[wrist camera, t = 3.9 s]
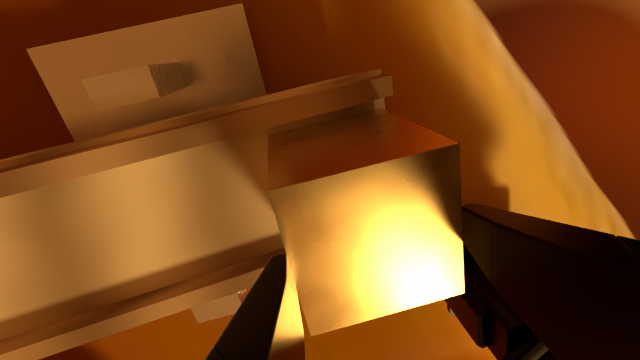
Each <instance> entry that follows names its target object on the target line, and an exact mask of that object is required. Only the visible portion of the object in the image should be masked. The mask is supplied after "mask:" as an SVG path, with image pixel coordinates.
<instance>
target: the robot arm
mask: <svg viewBox="0 0 640 360" xmlns="http://www.w3.org/2000/svg"><path fill="white" fill-rule="evenodd" d="M462 235H463V262H464V290H465V293H463V294H459V295H456V296H452V297H449V298H445V299H444V300H445V301H446V303H447V309H448V311H449V312H450V314H451V315H452V316H456V317H457V318H458V320H459V321H460V322H461V324H462V325H463V327H464V328H465V329H466V331H467V332H468V333H469V335H470V336H471V338H472V339H473V340H474V342H475V343H476V345H477V346H479V347H481V348H485V347H488V348H489V349H490V351H491V352H492V353H493V355H494V356H495V357H496V359H497V360H640V240H635V239H631V238H626V237H622V236H617V237H616V236H615V235H613V234H608V233H604V232H599V231H595V230H590V229H586V228H581V227H577V226H572V225H568V224H563V223H559V222H554V221H550V220H545V219H541V218H536V217H532V216H528V215H523V214H519V213H514V212H510V211H505V210H501V209H496V208H492V207H487V206H483V205H478V204H473V203H472V204H467V205H464V206H462ZM205 360H305V348H304V332H303V325H302V319H301V313H300V307H299V301H298V295H297V290H296V285H295V281H294V278H293V275H292V271H291V268H290V265H289V261H288V258H287V255H286V253H282V254H278V255H274V256H272V257H271V259H270V260H269V262H268V263H267V265H266V266H265V268H264V269H263V271H262V272H261V274H260V276H259V277H258V279H257V280H256V282H255V283H254V285H253V286H252V288H251V290H250V291H249V293H248V294H247V296H246V297H245V299H244V300H243V302H242V303H241V305H240V307H239V308H238V310H237V311H236V313H235V314H234V316H233V317H232V319H231V321H230V322H229V324H228V325H227V327H226V328H225V330H224V331H223V333H222V335H221V336H220V338H219V339H218V341H217V342H216V344H215V345H214V349H212V350H211V351H210V353H209V354H208V356H207V358H206V359H205Z"/></svg>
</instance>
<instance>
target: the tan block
mask: <svg viewBox="0 0 640 360" xmlns="http://www.w3.org/2000/svg"><path fill="white" fill-rule="evenodd" d="M268 194H269V198H270V201H271V204H272V208H273V211H274V214H275V218H276V221H277V225H278V228H279V231H280V235H281V238H282V241H283V245H284V248H285V251H286V255H287V258H288V261H289V265H290V268H291V271H292V275H293V278H294V281H295V285H296V288H297V292H298V295H299V298H300V302H301V305H302V308H303V312H304V315H305V318H306V322H307V325H308V328H309V332H310V335H311V336H315V335H318V334H322V333H325V332H329V331H332V330H336V329H339V328H343V327H346V326H350V325H353V324H357V323H361V322H364V321H368V320H371V319H375V318H378V317H382V316H385V315H389V314H392V313H396V312H399V311H403V310H406V309H410V308H413V307H417V306H420V305H424V304H428V303H431V302H435V301H438V300H442V299H445V298H449V297H452V296H456V295H459V294H463V293H465V290H464V262H463V235H462V206H461V178H460V150H459V143H458V142H456V141H453V140H451V139H449V138H447V137H445V136H442V135H440V134H438V133H436V132H434V131H432V130H429V129H427V128H425V127H423V126H421V125H418V124H416V123H414V122H412V121H410V120H407V119H405V118H403V117H401V116H399V115H397V114H394V113H392V112H390V111H388V110H386V109H383V108H379V109H375V110H370V111H366V112H362V113H358V114H354V115H350V116H345V117H341V118H337V119H333V120H329V121H325V122H320V123H316V124H312V125H308V126H304V127H300V128H295V129H291V130H287V131H283V132H279V133H275V134H270V135H268Z"/></svg>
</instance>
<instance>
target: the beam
mask: <svg viewBox="0 0 640 360" xmlns="http://www.w3.org/2000/svg"><path fill="white" fill-rule="evenodd" d="M393 95H394V89H393V80H392V75H384V74H381V69H370V70H366V71H362V72H358V73H353V74H349V75H345V76H341V77H337V78H333V79H329V80H325V81H321V82H317V83H313V84H308V85H304V86H300V87H296V88H292V89H288V90H284V91H280V92H276V93H272V94H267V95H263V96H259V97H255V98H251V99H247V100H243V101H239V102H235V103H231V104H227V105H222V106H218V107H214V108H210V109H206V110H202V111H198V112H194V113H190V114H186V115H181V116H177V117H173V118H169V119H165V120H161V121H157V122H153V123H149V124H145V125H141V126H136V127H132V128H128V129H124V130H120V131H116V132H112V133H108V134H104V135H100V136H95V137H91V138H87V139H83V140H79V141H75V142H71V143H67V144H63V145H59V146H55V147H50V148H46V149H42V150H38V151H34V152H30V153H26V154H22V155H18V156H14V157H9V158H5V159H1V160H0V360H39V359H42V358H45V357H48V356H51V355H54V354H56V353H59V352H62V351H65V350H68V349H71V348H74V347H77V346H80V345H83V344H86V343H89V342H92V341H95V340H98V339H101V338H104V337H107V336H109V335H112V334H115V333H118V332H121V331H124V330H127V329H130V328H133V327H136V326H139V325H142V324H145V323H148V322H151V321H154V320H157V319H159V318H162V317H165V316H168V315H171V314H174V313H177V312H180V311H183V310H186V309H189V308H192V307H195V306H198V305H201V304H204V303H207V302H210V301H212V300H215V299H218V298H221V297H224V296H227V295H230V294H233V293H236V292H239V291H242V290H245V289H248V288H251V287H252V286H253V285H254V283H255V282H256V280H257V279H258V277H259V276H260V274H261V272H262V271H263V269H264V268H265V266H266V265H267V263H268V262H269V260H270V259H271V257H272V256H274V255H278V254H282V253H286V251H285V248H284V245H283V241H282V238H281V235H280V231H279V228H278V225H277V221H276V218H275V214H274V211H273V208H272V204H271V201H270V198H269V194H268V135H270V134H275V133H279V132H283V131H287V130H291V129H295V128H300V127H304V126H308V125H312V124H316V123H320V122H325V121H329V120H333V119H337V118H341V117H345V116H350V115H354V114H358V113H362V112H366V111H370V110H375V109H379V108H383V109H386V108H385V100H384V98H385V97H389V96H393Z"/></svg>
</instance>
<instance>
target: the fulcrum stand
mask: <svg viewBox="0 0 640 360" xmlns="http://www.w3.org/2000/svg"><path fill="white" fill-rule="evenodd" d="M26 50H27V52H28V54H29V56H30V58H31V60H32V61H33V63H34V65H35V67H36V69H37V71H38V73H39V75H40V77H41V79H42V80H43V82H44V84H45V86H46V88H47V90H48V92H49V94H50V96H51V98H52V99H53V101H54V103H55V105H56V107H57V109H58V111H59V113H60V115H61V117H62V118H63V120H64V122H65V124H66V126H67V128H68V130H69V132H70V134H71V136H72V137H73V139H74V141H79V140H83V139H87V138H91V137H95V136H100V135H104V134H108V133H112V132H116V131H120V130H124V129H128V128H132V127H136V126H141V125H145V124H149V123H153V122H157V121H161V120H165V119H169V118H173V117H177V116H181V115H186V114H190V113H194V112H198V111H202V110H206V109H210V108H214V107H218V106H222V105H227V104H231V103H235V102H239V101H243V100H247V99H251V98H255V97H259V96H263V95H267V93H266V89H265V85H264V82H263V78H262V74H261V70H260V67H259V63H258V59H257V55H256V51H255V48H254V44H253V40H252V36H251V33H250V29H249V25H248V21H247V18H246V14H245V10H244V6H243V4H242V3H240V4H235V5H230V6H226V7H221V8H216V9H212V10H207V11H202V12H198V13H193V14H188V15H184V16H179V17H174V18H169V19H165V20H160V21H155V22H151V23H146V24H141V25H137V26H132V27H127V28H122V29H118V30H113V31H108V32H104V33H99V34H94V35H90V36H85V37H80V38H76V39H71V40H66V41H61V42H57V43H52V44H47V45H43V46H38V47H33V48H29V49H26ZM245 297H246V289H245V290H242V291H239V292H236V293H233V294H230V295H227V296H224V297H221V298H218V299H215V300H212V301H210V302H207V303H204V304H201V305H198V306H195V307H192V308H191V309H192V311H193V314H194V316H195V318H196V320H197V322H198V323H202V322H205V321H209V320H213V319H216V318H220V317H224V316H227V315H231V314H235V313H236V311H237V310H238V308H239V307H240V305H241V303H242V302H243V300H244V299H245Z"/></svg>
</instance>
